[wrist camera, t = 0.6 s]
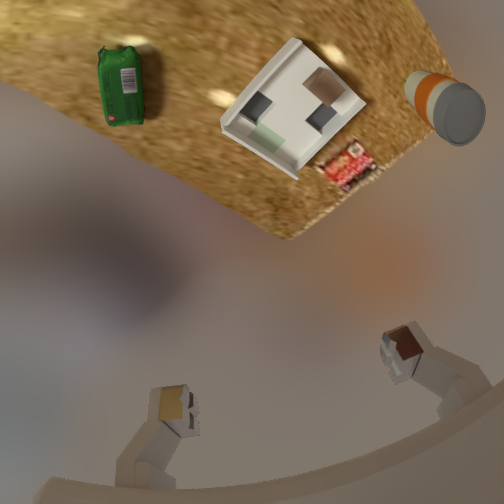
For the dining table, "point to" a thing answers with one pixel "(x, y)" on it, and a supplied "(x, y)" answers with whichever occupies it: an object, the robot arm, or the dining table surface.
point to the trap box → (287, 110)
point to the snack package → (121, 86)
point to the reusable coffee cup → (446, 106)
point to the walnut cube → (324, 86)
